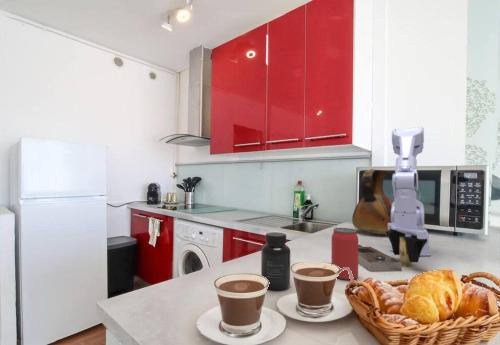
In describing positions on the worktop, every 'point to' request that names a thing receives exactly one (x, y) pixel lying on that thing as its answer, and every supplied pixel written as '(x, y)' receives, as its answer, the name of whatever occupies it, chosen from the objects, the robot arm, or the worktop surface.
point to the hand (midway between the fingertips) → (405, 258)
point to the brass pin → (404, 253)
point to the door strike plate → (377, 260)
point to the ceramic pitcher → (373, 204)
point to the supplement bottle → (276, 261)
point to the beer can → (345, 251)
